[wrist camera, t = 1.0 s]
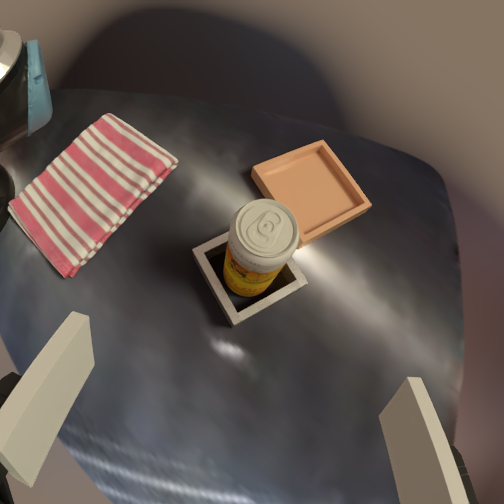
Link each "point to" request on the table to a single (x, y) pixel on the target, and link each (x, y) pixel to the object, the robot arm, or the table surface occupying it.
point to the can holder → (234, 318)
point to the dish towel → (90, 191)
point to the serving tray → (312, 189)
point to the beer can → (259, 246)
